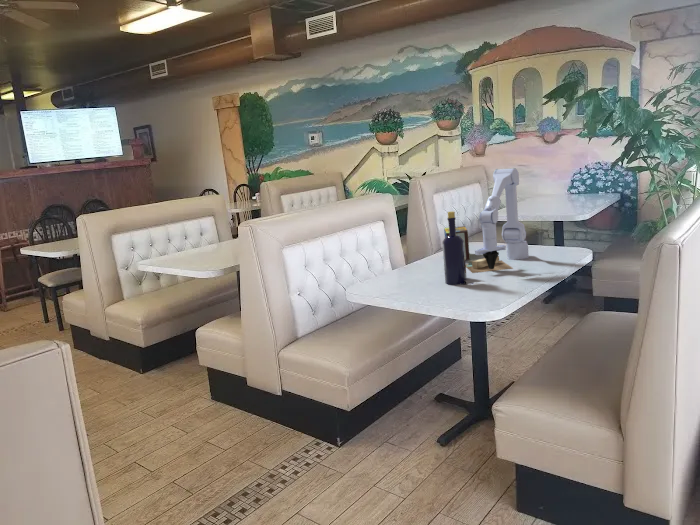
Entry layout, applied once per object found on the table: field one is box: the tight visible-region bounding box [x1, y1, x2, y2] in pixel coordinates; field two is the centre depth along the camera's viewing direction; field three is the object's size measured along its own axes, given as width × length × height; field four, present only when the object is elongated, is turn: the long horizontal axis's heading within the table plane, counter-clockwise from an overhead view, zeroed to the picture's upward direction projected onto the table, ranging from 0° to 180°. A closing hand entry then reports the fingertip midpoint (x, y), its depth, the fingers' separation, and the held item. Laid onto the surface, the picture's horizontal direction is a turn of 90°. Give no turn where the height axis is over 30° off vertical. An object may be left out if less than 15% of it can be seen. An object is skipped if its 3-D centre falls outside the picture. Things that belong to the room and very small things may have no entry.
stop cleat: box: [467, 258, 480, 265], centre depth 261 cm, size 8×1×2 cm, turn 92°
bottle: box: [442, 210, 468, 286], centre depth 234 cm, size 9×9×30 cm
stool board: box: [466, 259, 514, 274], centre depth 254 cm, size 18×18×1 cm
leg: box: [472, 255, 500, 269], centre depth 255 cm, size 14×3×4 cm, turn 124°
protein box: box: [443, 225, 471, 261], centre depth 278 cm, size 10×15×16 cm
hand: (491, 268), depth 245 cm, fingers closed
